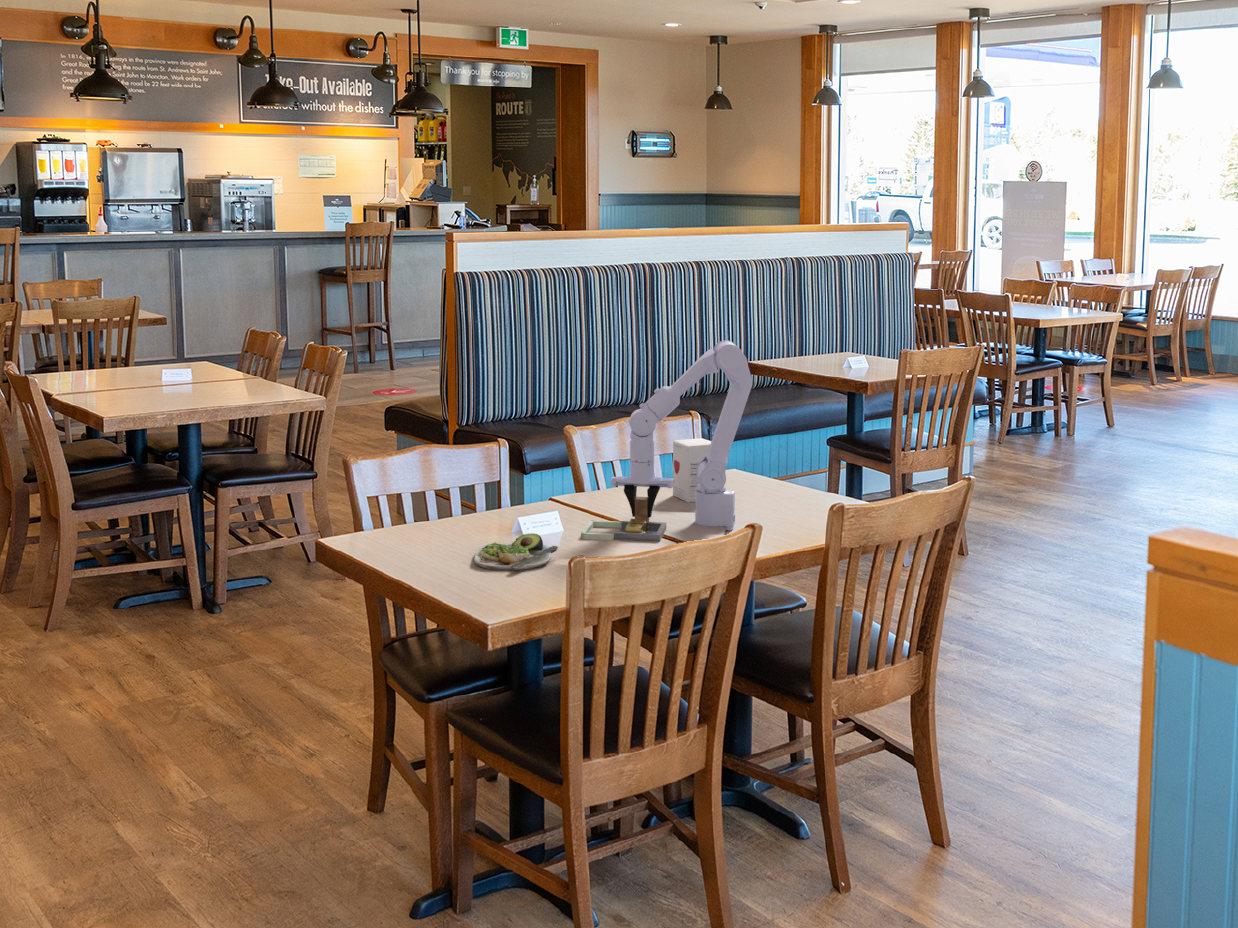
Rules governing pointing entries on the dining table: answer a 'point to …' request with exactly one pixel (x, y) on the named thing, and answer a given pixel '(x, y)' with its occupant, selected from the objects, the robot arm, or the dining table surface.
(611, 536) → the tray
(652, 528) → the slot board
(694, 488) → the supplement box
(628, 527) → the chip
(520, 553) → the salad plate
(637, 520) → the brushed gold cube
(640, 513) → the brown block with peg
